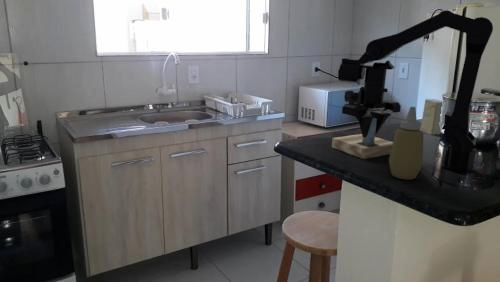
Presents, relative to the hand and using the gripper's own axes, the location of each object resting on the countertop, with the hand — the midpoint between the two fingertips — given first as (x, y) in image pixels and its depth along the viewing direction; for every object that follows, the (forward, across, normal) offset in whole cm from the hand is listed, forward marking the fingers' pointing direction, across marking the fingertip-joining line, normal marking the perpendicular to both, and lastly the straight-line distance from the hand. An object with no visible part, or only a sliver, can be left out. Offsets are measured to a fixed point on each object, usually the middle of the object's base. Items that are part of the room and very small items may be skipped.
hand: (368, 136), depth 124 cm
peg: (+2, 0, 0) cm, 2 cm away
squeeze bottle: (+6, +7, +19) cm, 21 cm away
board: (+5, -2, -3) cm, 7 cm away
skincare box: (+6, -43, -9) cm, 44 cm away
